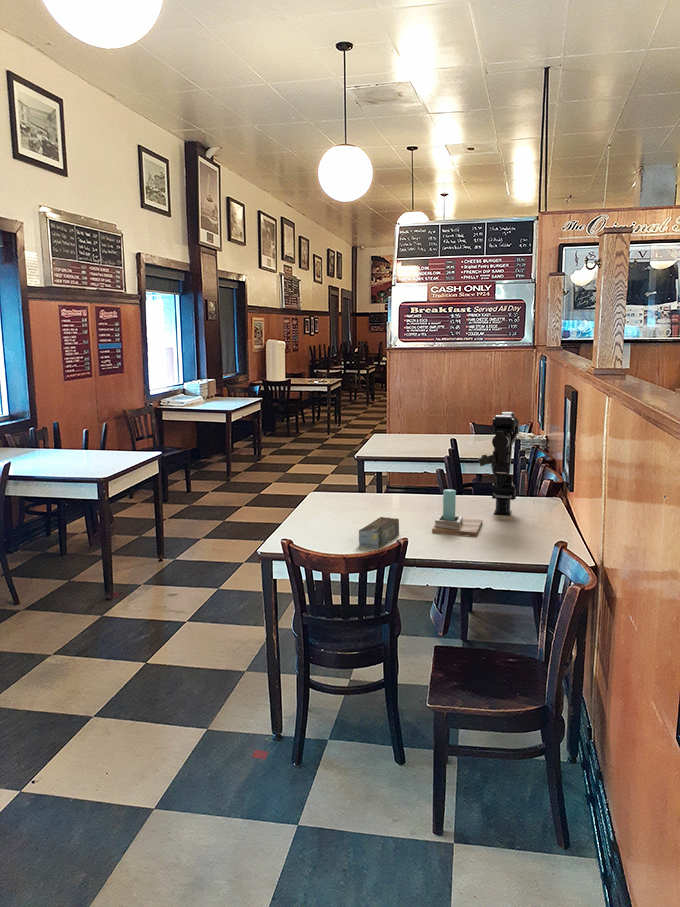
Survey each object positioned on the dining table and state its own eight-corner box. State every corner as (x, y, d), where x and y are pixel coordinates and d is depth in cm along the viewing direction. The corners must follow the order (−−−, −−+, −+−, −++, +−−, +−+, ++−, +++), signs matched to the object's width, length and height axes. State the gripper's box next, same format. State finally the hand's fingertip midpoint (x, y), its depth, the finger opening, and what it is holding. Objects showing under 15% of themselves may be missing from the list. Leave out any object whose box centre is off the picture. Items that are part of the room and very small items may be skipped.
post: (452, 522, 262) (453, 489, 260) (456, 526, 258) (457, 491, 256) (441, 523, 262) (441, 489, 259) (445, 526, 257) (446, 492, 255)
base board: (440, 520, 272) (440, 510, 271) (482, 523, 267) (482, 513, 266) (432, 532, 255) (432, 522, 254) (476, 536, 250) (476, 525, 249)
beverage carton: (357, 546, 240) (357, 528, 239) (379, 532, 257) (379, 515, 256) (378, 549, 236) (378, 530, 235) (400, 535, 253) (400, 517, 252)
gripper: (480, 445, 276) (476, 484, 277) (480, 448, 257) (477, 490, 259) (508, 447, 274) (505, 487, 275) (511, 450, 255) (507, 493, 257)
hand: (498, 489), depth 266 cm, fingers open, 9 cm apart
